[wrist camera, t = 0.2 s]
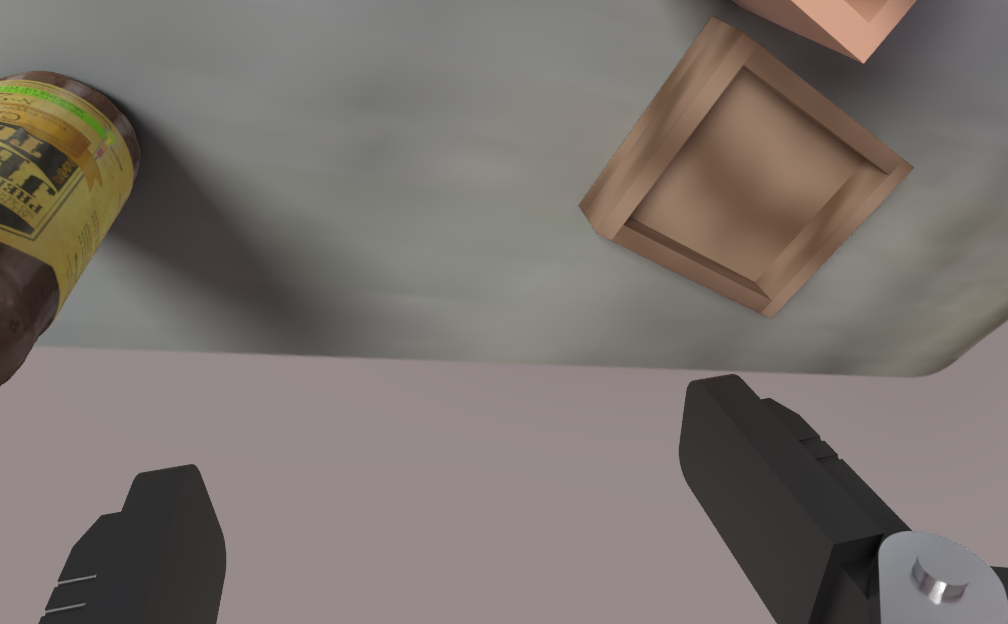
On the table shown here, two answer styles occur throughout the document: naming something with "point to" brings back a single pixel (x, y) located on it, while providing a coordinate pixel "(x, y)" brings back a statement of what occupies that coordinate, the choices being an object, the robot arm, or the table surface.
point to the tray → (741, 174)
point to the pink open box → (835, 21)
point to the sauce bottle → (54, 197)
